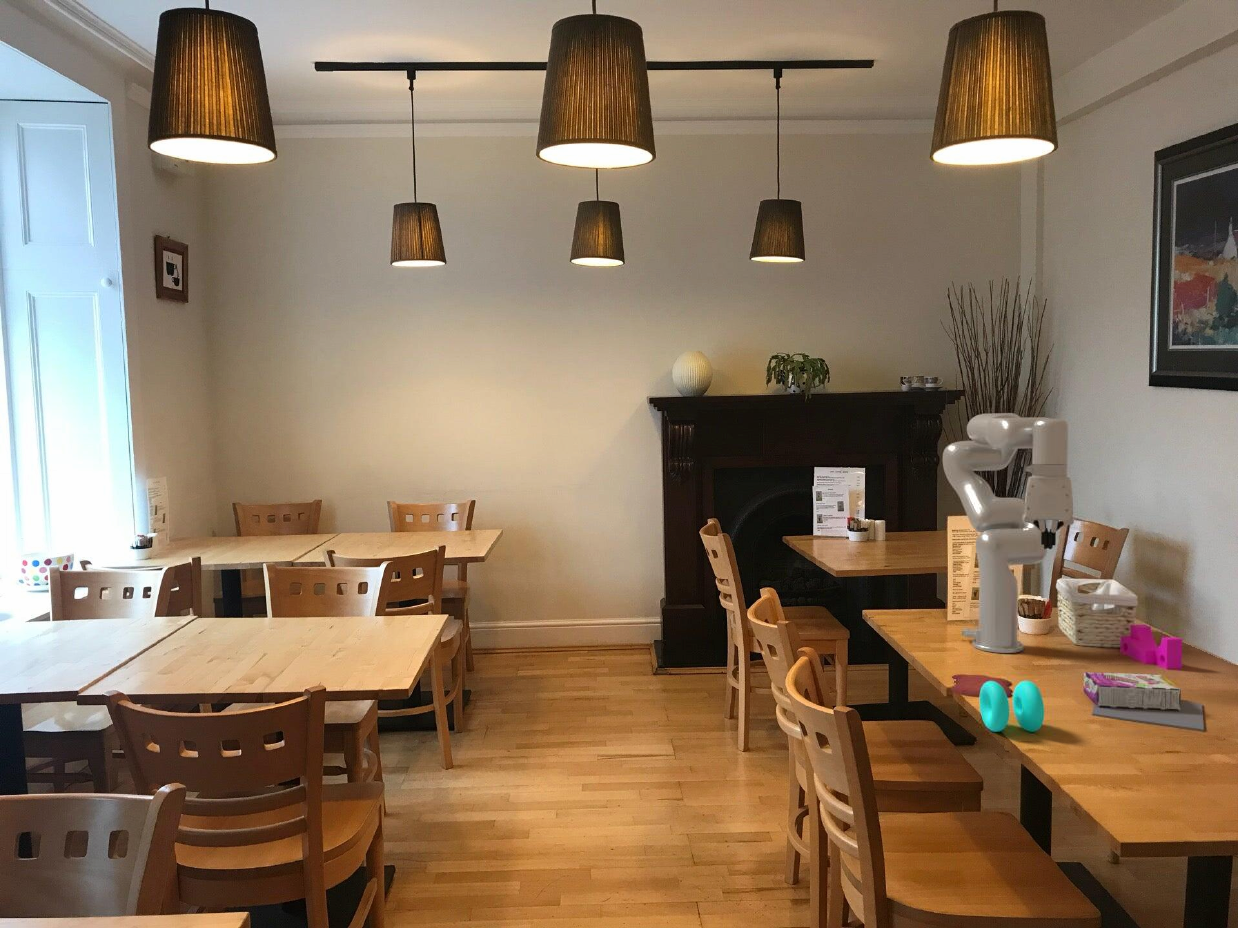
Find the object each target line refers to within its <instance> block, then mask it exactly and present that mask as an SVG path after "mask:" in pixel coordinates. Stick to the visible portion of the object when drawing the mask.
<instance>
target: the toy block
mask: <svg viewBox="0 0 1238 928" xmlns="http://www.w3.org/2000/svg"><path fill="white" fill-rule="evenodd" d="M1120 653H1122V654H1123V655H1126V656H1128V657H1130V658H1132V659H1134V660H1136V661H1137V662H1140V663H1143V664H1144V665H1150V664H1151V665H1157V666H1159V667H1161V668H1163V669H1165V670H1182V662H1183V661H1182V660H1183V659H1182V658H1183V656H1182V655H1183V638H1179V637H1177V636H1175V637H1174V636H1172V637H1171V636H1170V637H1167V636H1165V637H1161V642H1160V644H1159V645H1158V644H1157V643H1156V641H1155V639H1154V636H1153V633H1152V627H1151V626H1149V625H1147V624H1134V625H1130V636H1122V637H1121V647H1120Z"/></svg>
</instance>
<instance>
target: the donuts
mask: <svg viewBox="0 0 1238 928" xmlns="http://www.w3.org/2000/svg"><path fill="white" fill-rule="evenodd" d="M1012 693H1013V694H1012V709H1013V714H1014V717H1015V719H1016V721H1017V723H1018V724H1019V726H1020V727H1021V728H1022V729H1023V730H1025V731H1027V732H1031V733H1033V732H1036V731H1038V730H1040V729H1041V727H1042V725H1043V723H1044V720H1045V705H1044V700H1043V696H1042V693H1041V691H1040V688H1038V686H1037V685H1036V684H1035V683H1034V682H1032V681H1029V680H1022V681H1020V682H1019V683H1018V684H1017V685H1016V686H1015V688H1014V691H1013V692H1012ZM978 699H979V712H980V714H981V718H982V719H981V720H982V721H983V723H984V725H985V727H986V728H987V729H988V730H990V731H991V732H994V733H998V732H1002V731H1003V730H1005V728H1006V726H1007V725H1008V722H1009V718H1010V703H1009V702H1010V701H1009V698H1007V695H1006V693H1005V691H1004V689H1003V687H1002V686H1001V685H1000V684H998V683H997V682H995V681H988V682H986V683H984V685H983V686H982V688H981V691H980V697H978Z"/></svg>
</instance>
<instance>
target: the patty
mask: <svg viewBox="0 0 1238 928" xmlns="http://www.w3.org/2000/svg"><path fill="white" fill-rule="evenodd" d="M951 677H952V678H953V679H952V678H951V679H952V680H954V679H956V681H955V680H954V683H956V684H954V683H953V684H954V685H952V686H951V687H950V690H951V691H952V692H953V693H955V694H958V695H960V696H965V697H971V698H980V691H981V688H982V686H983V685H984V683H986V682H988V681H995V682H997V683H998V684H1000V685H1001V686H1002V687H1003V689H1004V691H1005V693H1006V695H1007V698H1008V699H1009V698H1011V696H1012V697H1013V694H1012V693H1014V691H1013V689H1012V688H1010V687H1012V686H1013V685H1012V684H1013V682H1012V681H1009V680H1007V679H1004V678H1000V677H994V676H993V677H992V676H988V675H984V674H965V673H964V674H961V673H959V674H953V675H952V676H951ZM1011 685H1012V686H1011Z"/></svg>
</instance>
